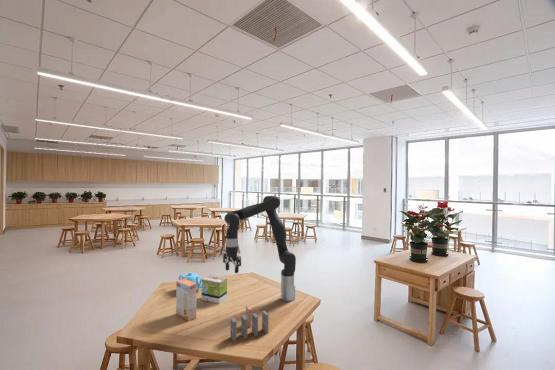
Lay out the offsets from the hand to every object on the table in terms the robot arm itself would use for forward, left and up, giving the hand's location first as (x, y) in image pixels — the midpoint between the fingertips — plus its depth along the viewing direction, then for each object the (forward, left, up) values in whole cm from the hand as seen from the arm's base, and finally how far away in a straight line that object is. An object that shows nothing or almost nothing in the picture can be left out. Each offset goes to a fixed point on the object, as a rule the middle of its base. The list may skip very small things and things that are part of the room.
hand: (231, 271), depth 166 cm
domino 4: (-5, +26, -27) cm, 38 cm away
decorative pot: (+17, -51, -27) cm, 61 cm away
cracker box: (+25, -10, -27) cm, 39 cm away
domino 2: (0, +26, -27) cm, 37 cm away
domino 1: (+6, +25, -27) cm, 38 cm away
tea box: (+4, -27, -27) cm, 39 cm away
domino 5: (-11, +26, -27) cm, 39 cm away
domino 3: (-5, +15, -27) cm, 32 cm away
